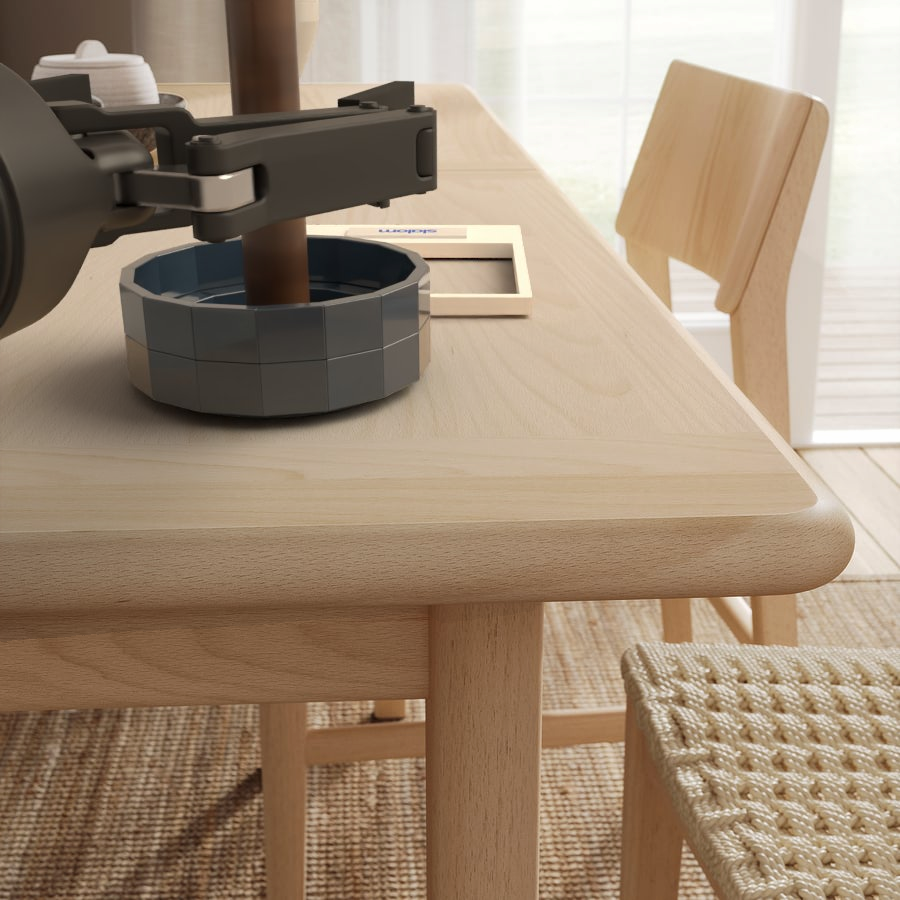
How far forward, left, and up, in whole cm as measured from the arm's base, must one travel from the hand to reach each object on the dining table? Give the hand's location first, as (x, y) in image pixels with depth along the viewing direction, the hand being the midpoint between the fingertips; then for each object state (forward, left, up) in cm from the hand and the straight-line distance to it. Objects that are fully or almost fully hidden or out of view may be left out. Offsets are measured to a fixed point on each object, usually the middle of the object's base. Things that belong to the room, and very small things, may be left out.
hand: (240, 112), depth 46 cm
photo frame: (-7, +20, -12) cm, 25 cm away
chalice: (-28, +35, -12) cm, 47 cm away
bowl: (-1, +2, -12) cm, 12 cm away
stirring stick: (-1, +2, -11) cm, 11 cm away
